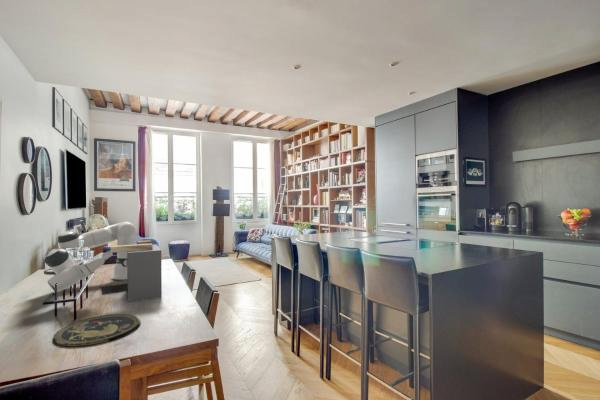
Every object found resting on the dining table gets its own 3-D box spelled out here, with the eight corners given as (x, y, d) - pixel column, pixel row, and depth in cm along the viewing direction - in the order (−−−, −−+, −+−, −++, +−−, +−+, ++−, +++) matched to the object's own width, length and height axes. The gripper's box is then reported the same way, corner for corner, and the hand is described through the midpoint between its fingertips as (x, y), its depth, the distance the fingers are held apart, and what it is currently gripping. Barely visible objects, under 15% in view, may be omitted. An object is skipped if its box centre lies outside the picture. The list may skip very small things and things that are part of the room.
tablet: (148, 280, 209) (153, 286, 192) (148, 281, 209) (153, 287, 192) (100, 286, 193) (102, 294, 177) (100, 288, 193) (102, 295, 177)
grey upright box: (127, 289, 187) (127, 246, 188) (156, 285, 195) (156, 244, 196) (128, 302, 163) (128, 252, 163) (161, 297, 171) (161, 250, 171)
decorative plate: (72, 317, 137) (146, 310, 146) (72, 322, 137) (146, 314, 146) (36, 349, 109) (131, 337, 117) (36, 354, 109) (131, 342, 117)
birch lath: (110, 251, 167) (110, 246, 167) (151, 248, 177) (151, 243, 177) (110, 252, 164) (110, 247, 164) (152, 249, 174) (152, 244, 174)
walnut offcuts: (135, 248, 180) (135, 241, 180) (151, 246, 184) (151, 240, 184) (135, 249, 175) (135, 242, 175) (152, 248, 179) (152, 241, 179)
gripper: (90, 268, 169) (116, 254, 175) (87, 276, 151) (115, 259, 158) (83, 259, 168) (109, 244, 174) (79, 266, 150) (108, 249, 156)
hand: (112, 252), depth 165 cm, fingers open, 8 cm apart
